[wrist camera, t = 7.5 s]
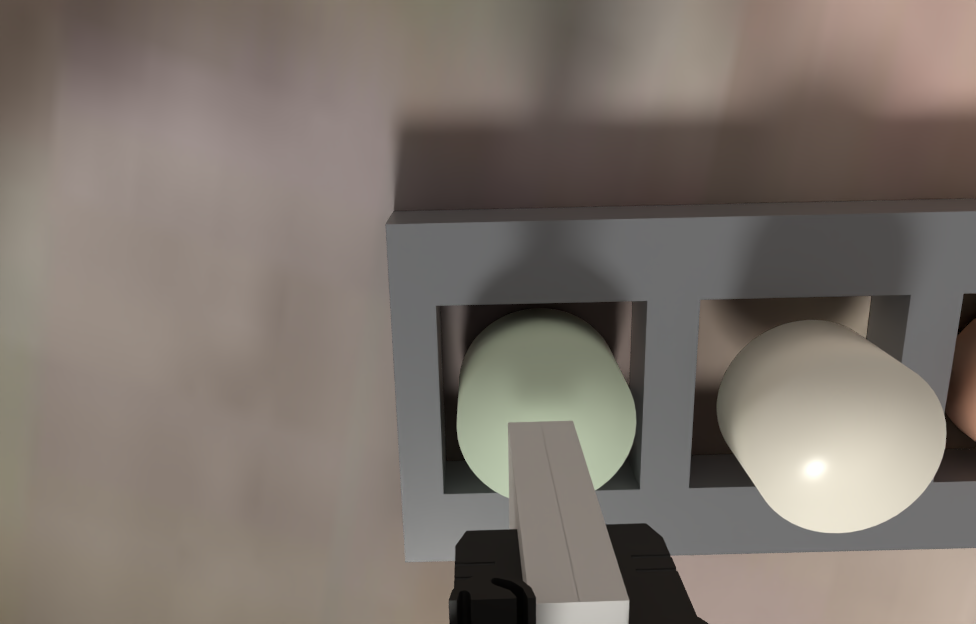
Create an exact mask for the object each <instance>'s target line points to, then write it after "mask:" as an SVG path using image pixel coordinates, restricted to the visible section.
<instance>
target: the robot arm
mask: <svg viewBox="0 0 976 624" xmlns="http://www.w3.org/2000/svg"><path fill="white" fill-rule="evenodd" d="M508 465H509V528H510V529H504V530H472V531H466V532H465V533H464V535H463V536H462V537H461V539H460V540H459V542H458V543H457V544H456V546H455V581H454V589H453V590H452V593H451V596H450V598H449V619H450V624H708V623H707V622H705V621H704V620H702V619H701V618H699V617H697V615H696V613H695V610H694V608H693V606H692V604H691V601H690V599H689V597H688V594H687V592H686V590H685V587H684V585H683V583H682V580H681V578H680V576H679V573H678V571H676V566H675V564H674V562H673V560H672V557H670V553H669V550H668V548H667V546H666V543H665V541H664V539H663V537H662V536H661V535H659V534H658V533H657V532H656V531H655V530H654V529H652V528H651V527H650V526H649V525H648V524H647V523H634V524H605V521H604V518H603V515H602V512H601V509H600V505H599V502H598V499H597V496H596V493H595V489H594V486H593V483H592V480H591V477H590V474H589V470H588V467H587V464H586V461H585V458H584V454H583V451H582V448H581V445H580V442H579V438H578V435H577V432H576V429H575V426H574V423H573V421H542V422H508Z"/></svg>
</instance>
